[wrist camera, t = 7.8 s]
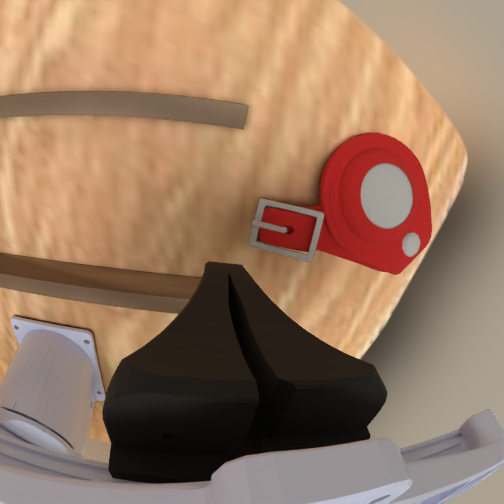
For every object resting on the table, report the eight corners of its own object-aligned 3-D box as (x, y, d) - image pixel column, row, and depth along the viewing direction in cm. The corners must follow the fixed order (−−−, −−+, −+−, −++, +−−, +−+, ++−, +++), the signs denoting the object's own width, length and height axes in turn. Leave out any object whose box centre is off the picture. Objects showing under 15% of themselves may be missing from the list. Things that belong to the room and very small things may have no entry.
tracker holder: (392, 99, 16) (464, 228, 18) (359, 115, 20) (426, 222, 23) (234, 226, 16) (342, 355, 18) (227, 221, 20) (317, 328, 22)
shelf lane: (210, 293, 22) (212, 321, 19) (-30, 260, 18) (-49, 280, 15) (242, 104, 16) (249, 106, 14) (-44, 103, 12) (-71, 109, 10)
